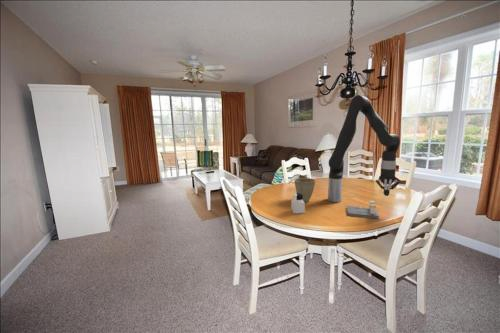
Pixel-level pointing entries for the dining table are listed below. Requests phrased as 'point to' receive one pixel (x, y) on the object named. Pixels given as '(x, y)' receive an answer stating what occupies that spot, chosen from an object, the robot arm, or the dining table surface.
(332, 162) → the robot arm
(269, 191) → the dining table surface
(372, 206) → the fader
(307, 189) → the plant pot
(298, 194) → the medicine bottle
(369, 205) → the block
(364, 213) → the console
